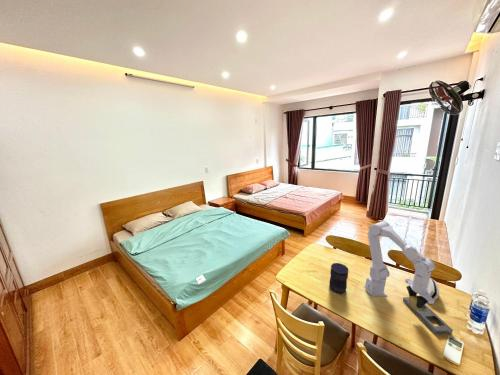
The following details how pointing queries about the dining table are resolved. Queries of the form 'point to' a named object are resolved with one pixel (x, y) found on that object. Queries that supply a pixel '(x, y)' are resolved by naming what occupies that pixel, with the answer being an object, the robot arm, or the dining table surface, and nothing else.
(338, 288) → the storage jar
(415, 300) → the brass nut
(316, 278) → the dining table surface
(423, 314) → the grey recessed tray
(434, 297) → the white black rounded piece
